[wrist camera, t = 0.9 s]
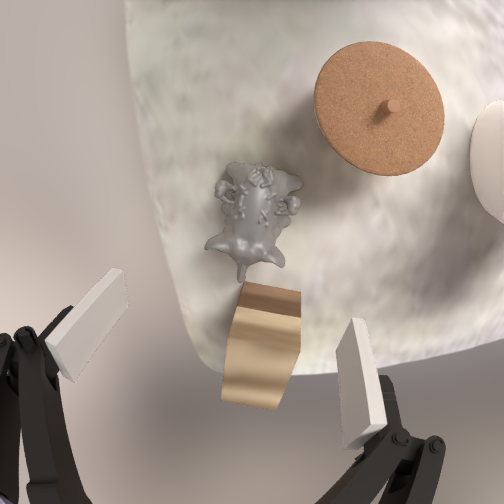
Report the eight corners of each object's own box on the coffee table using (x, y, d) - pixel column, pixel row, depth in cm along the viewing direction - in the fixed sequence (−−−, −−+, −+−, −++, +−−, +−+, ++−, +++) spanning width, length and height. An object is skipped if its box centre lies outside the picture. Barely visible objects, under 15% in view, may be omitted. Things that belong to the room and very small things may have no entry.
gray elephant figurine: (299, 154, 26) (300, 160, 19) (308, 262, 31) (310, 299, 24) (212, 164, 28) (184, 175, 21) (229, 266, 33) (211, 302, 26)
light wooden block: (237, 306, 29) (227, 338, 25) (300, 317, 29) (300, 351, 24) (228, 371, 35) (221, 400, 30) (278, 380, 34) (275, 410, 30)
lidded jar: (363, 182, 26) (393, 211, 18) (285, 110, 24) (282, 104, 16) (426, 116, 21) (476, 120, 13) (353, 41, 19) (379, 10, 11)
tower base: (244, 280, 34) (237, 305, 29) (300, 290, 33) (300, 317, 29) (235, 345, 39) (228, 370, 35) (281, 354, 39) (278, 380, 34)
